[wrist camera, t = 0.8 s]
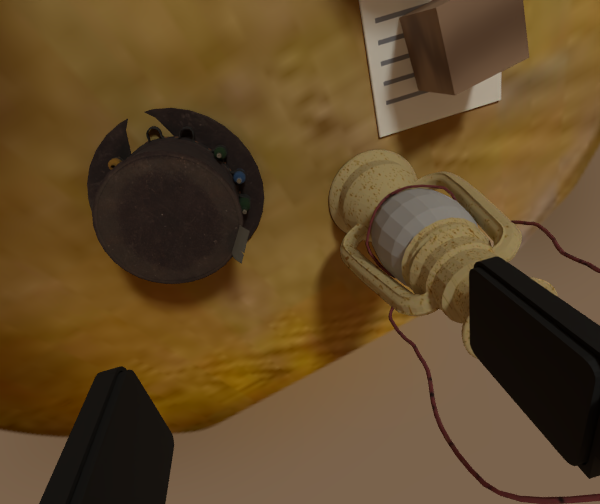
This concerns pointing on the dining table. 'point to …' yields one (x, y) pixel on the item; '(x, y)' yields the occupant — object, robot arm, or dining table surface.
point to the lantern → (425, 248)
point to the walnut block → (463, 42)
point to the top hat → (175, 198)
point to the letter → (408, 73)
